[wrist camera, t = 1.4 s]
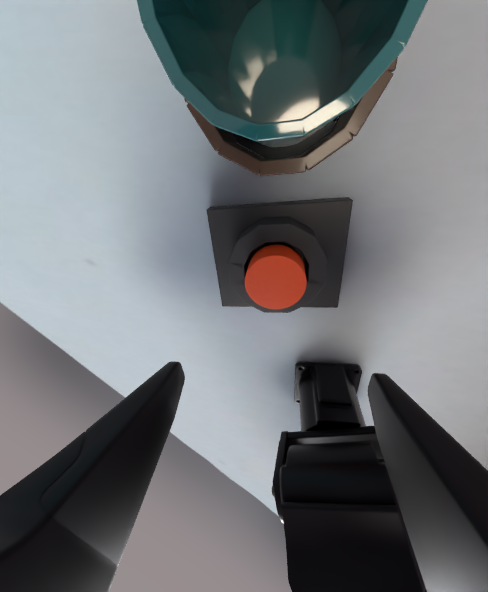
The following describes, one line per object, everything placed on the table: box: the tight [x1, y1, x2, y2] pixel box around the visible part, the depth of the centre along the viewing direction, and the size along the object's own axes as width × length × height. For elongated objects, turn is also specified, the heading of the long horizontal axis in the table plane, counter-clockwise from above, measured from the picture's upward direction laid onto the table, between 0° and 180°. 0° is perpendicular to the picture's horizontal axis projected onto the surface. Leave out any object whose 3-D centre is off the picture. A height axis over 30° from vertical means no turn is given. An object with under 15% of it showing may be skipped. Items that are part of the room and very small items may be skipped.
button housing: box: [207, 198, 353, 313], centre depth 18 cm, size 10×8×3 cm
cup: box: [137, 0, 428, 148], centre depth 9 cm, size 7×7×10 cm
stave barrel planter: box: [185, 56, 398, 176], centre depth 12 cm, size 9×9×4 cm
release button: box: [245, 244, 307, 309], centre depth 16 cm, size 4×4×2 cm
